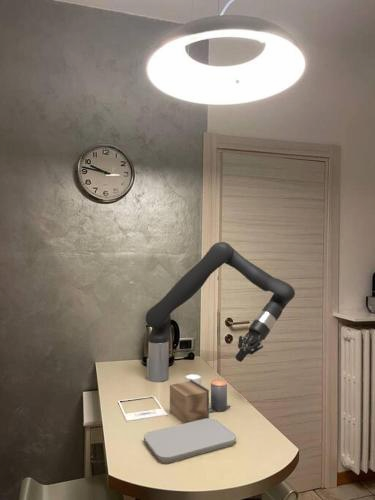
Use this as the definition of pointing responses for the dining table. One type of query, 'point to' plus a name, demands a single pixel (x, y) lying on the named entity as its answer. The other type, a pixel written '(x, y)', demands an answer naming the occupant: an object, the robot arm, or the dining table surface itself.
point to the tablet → (188, 439)
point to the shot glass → (193, 378)
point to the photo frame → (143, 412)
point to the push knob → (218, 394)
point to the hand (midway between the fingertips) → (238, 360)
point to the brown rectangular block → (190, 402)
